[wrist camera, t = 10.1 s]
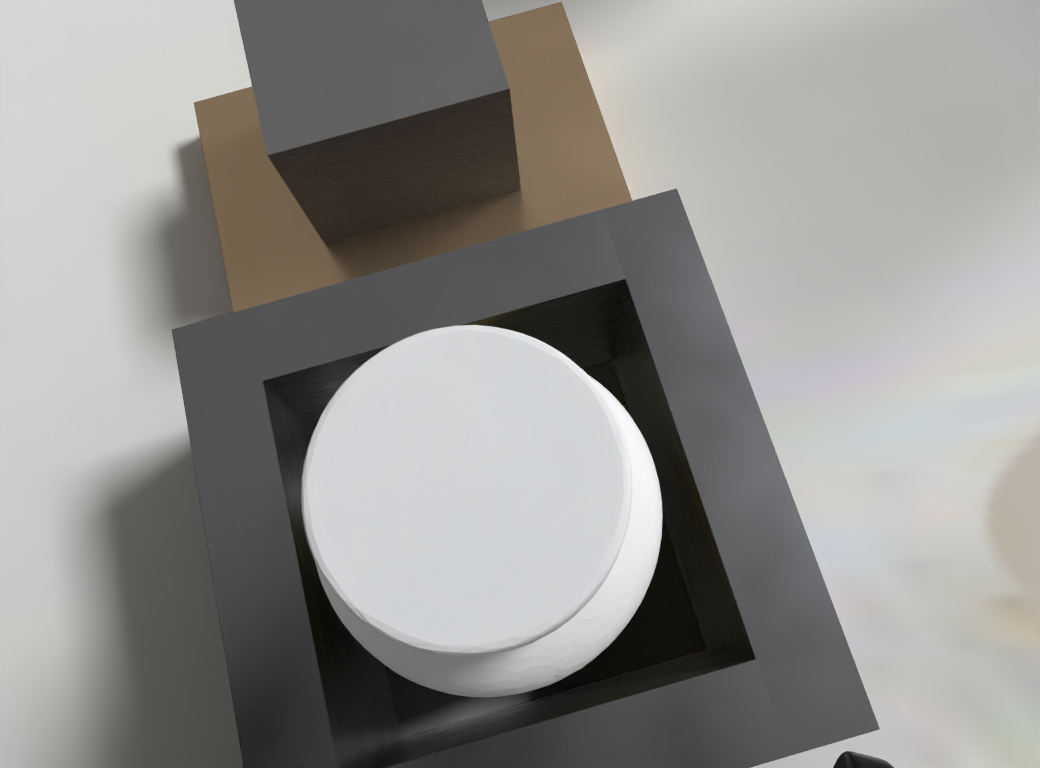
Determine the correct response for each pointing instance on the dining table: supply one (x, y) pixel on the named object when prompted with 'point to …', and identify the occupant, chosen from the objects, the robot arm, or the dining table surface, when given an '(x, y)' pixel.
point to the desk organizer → (486, 302)
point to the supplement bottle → (480, 511)
